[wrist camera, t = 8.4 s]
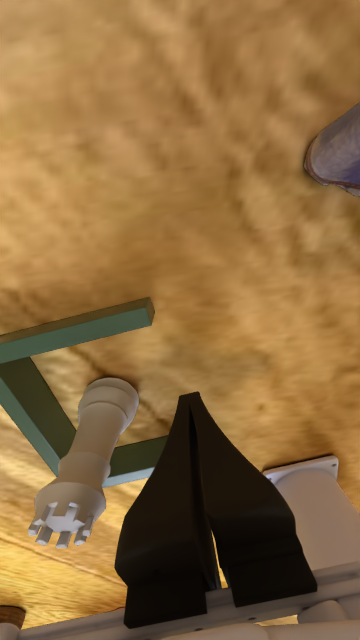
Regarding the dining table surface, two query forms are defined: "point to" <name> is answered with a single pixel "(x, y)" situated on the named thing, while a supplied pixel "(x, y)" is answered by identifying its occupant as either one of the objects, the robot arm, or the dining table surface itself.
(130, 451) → the bay
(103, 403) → the rook chess piece
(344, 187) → the flask
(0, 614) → the utensil holder
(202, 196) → the dining table surface
